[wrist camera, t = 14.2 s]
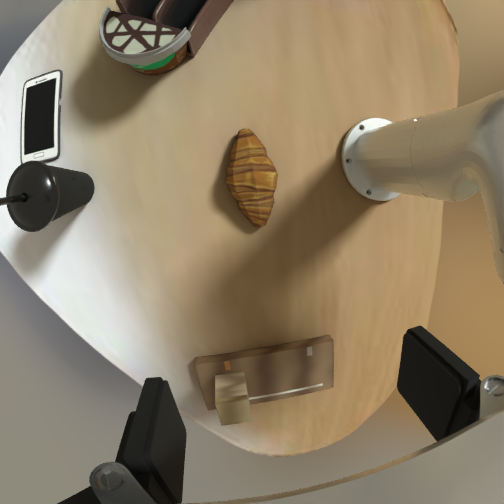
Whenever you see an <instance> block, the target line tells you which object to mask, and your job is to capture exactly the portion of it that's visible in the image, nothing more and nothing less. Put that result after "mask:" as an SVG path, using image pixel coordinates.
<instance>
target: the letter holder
mask: <svg viewBox="0 0 504 504" xmlns="http://www.w3.org/2000/svg"><path fill="white" fill-rule="evenodd" d="M233 1H234V0H116V3H117V5H118V7H119V8H120V10H121V12H122V13H123V14H128V15H133V16H138V17H143V18H147V19H150V20H153V21H155V22H158V23H161V24H164V25H167V26H170V27H174V28H178V29H181V30H183V29H184V28H185V27H186V29H187V30H188V31H189V32H190V34H191V37H190V39H189V40H188V41H187V55H188V56H191V57H194V56H195V55H196V53H197V52H198V50H199V49H200V47H201V46H202V44H203V43H204V41H205V40H206V38H207V37H208V35H209V34H210V32H211V31H212V29H213V28H214V27H215V25H216V24H217V22H218V21H219V19H220V18H221V17H222V15H223V14H224V13H225V11H226V10H227V9H228V7H229V6H230V5H231V3H232V2H233Z"/></svg>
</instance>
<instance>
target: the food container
mask: <svg viewBox="0 0 504 504" xmlns="http://www.w3.org/2000/svg"><path fill="white" fill-rule="evenodd" d="M99 33H100V39H101V42H102V45H103V48H104V49H105V51H106V52H107V54H108V55H109V56H110V57H112V58H113V59H115V60H117V61H119V62H122V63H126V64H129V65H130V66H131V67H132V68H134V69H135V70H136V71H137V72H139V73H142V74H145V75H159V74H163V73H166V72H168V71H170V70H172V69H174V68H175V67H177V66H178V65H179V64H180V63H181V62H182V61H183V60H184V59H185V57H186V56H187V41H188V40H189V39H190V37H191V34H190V32H189V31H188V30H187V29H186V27H185V28H184V29H183V30H181V29H178V28H174V27H170V26H167V25H164V24H161V23H158V22H155V21H153V20H150V19H147V18H143V17H138V16H133V15H128V14H123V13H119V12H115V11H111V10H110V8H109V7H108V6H107V8H106V9H105V11H104V13H103V15H102V18H101V21H100V28H99Z"/></svg>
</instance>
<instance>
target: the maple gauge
mask: <svg viewBox="0 0 504 504" xmlns="http://www.w3.org/2000/svg"><path fill="white" fill-rule="evenodd" d="M215 405H216V408H217V412H218V415H219V419H220V422H221V425H229V424H237V423H244V422H251V421H252V416H251V410H250V403H249V396H248V390H247V385H246V380H245V374H244V372H238V373H231V374H224V375H217V376H215Z"/></svg>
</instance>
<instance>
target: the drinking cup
mask: <svg viewBox="0 0 504 504" xmlns="http://www.w3.org/2000/svg"><path fill="white" fill-rule="evenodd" d="M93 194H94V183H93V180H92V178H91V177H90V176H89V175H88V174H86V173H83V172H79V171H74V170H69V169H64V168H59V167H54V166H49V165H46V164H45V163H43V162H40V161H27V162H25V163H23V164H21V165H20V166H19V167H18V168H17V169H16V170H15V171H14V172H13V174H12V176H11V178H10V180H9V183H8V186H7V192H6V197H4V198H0V206H1V205H6V204H7V208H8V211H9V214H10V216H11V218H12V220H13V221H14V223H15V224H16V225H17V226H18V227H20V228H21V229H23V230H25V231H28V232H35V231H39V230H41V229H43V228H45V227H46V226H48V225H49V224H50V222H51V221H53V220H55V219H57V218H59V217H61V216H63V215H65V214H67V213H68V212H70V211H72V210H74V209H76V208H78V207H80V206H82V205H84V204H86V203H88V202H89V201H90V200H91V198H92V196H93Z"/></svg>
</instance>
